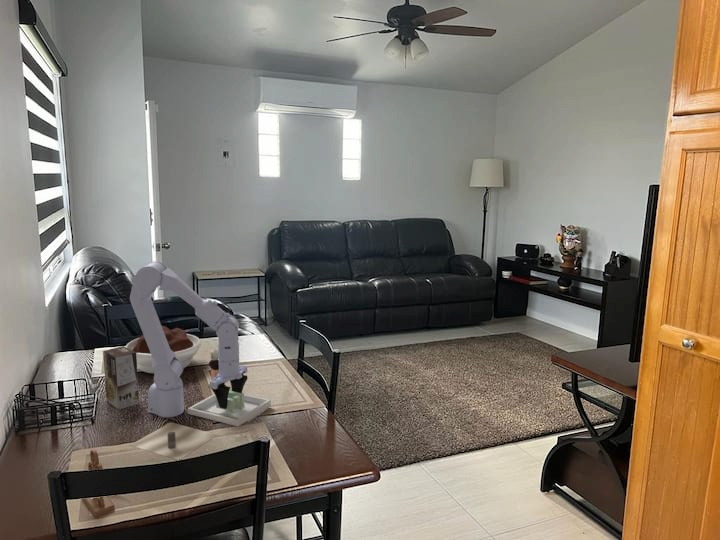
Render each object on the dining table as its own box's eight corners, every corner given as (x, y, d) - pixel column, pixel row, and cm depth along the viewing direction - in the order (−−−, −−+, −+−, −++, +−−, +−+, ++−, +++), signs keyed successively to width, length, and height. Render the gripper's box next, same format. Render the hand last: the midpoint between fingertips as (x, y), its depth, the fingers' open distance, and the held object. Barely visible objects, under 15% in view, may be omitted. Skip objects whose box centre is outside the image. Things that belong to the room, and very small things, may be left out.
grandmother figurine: (202, 387, 170) (201, 349, 168) (210, 383, 174) (209, 346, 171) (222, 391, 167) (221, 353, 165) (229, 386, 171) (228, 349, 169)
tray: (187, 416, 149) (187, 408, 148) (223, 396, 163) (223, 389, 162) (238, 429, 142) (237, 421, 141) (270, 407, 156) (270, 399, 155)
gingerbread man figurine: (81, 497, 111) (77, 445, 109) (100, 490, 113) (97, 439, 111) (94, 517, 104) (90, 462, 102) (115, 509, 107) (111, 455, 105)
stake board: (129, 448, 131) (128, 431, 130) (171, 425, 143) (170, 409, 142) (178, 464, 124) (178, 446, 123) (217, 438, 137) (217, 421, 136)
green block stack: (216, 407, 150) (216, 397, 150) (228, 400, 155) (228, 390, 155) (236, 412, 147) (236, 401, 147) (248, 405, 152) (248, 394, 152)
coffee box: (140, 403, 157) (137, 352, 154) (118, 410, 152) (114, 357, 149) (127, 395, 163) (124, 345, 160) (105, 401, 158) (102, 350, 155)
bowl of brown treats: (216, 365, 190) (215, 325, 187) (157, 387, 169) (154, 343, 166) (171, 352, 203) (169, 315, 200) (111, 371, 182) (108, 330, 179)
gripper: (223, 369, 141) (224, 416, 144) (255, 353, 154) (256, 397, 157) (203, 365, 144) (204, 411, 146) (236, 350, 157) (237, 392, 159)
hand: (230, 403), depth 152 cm, fingers closed on green block stack, 6 cm apart
